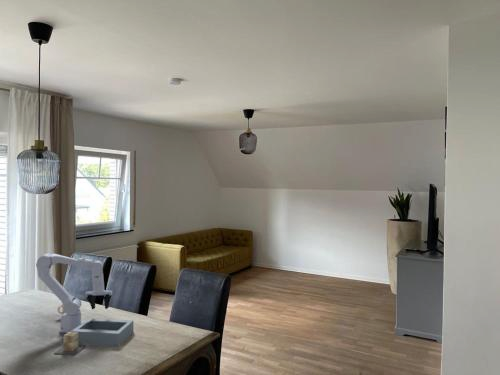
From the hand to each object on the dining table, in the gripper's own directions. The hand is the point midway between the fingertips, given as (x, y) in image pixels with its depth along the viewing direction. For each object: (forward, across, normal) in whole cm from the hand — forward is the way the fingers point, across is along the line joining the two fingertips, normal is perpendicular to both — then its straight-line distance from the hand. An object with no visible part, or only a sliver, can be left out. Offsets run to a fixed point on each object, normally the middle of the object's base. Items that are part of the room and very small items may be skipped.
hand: (100, 308), depth 207 cm
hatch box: (+11, +7, -12) cm, 18 cm away
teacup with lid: (+9, -28, +14) cm, 33 cm away
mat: (+10, 0, -28) cm, 30 cm away
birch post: (+9, 0, -28) cm, 29 cm away
